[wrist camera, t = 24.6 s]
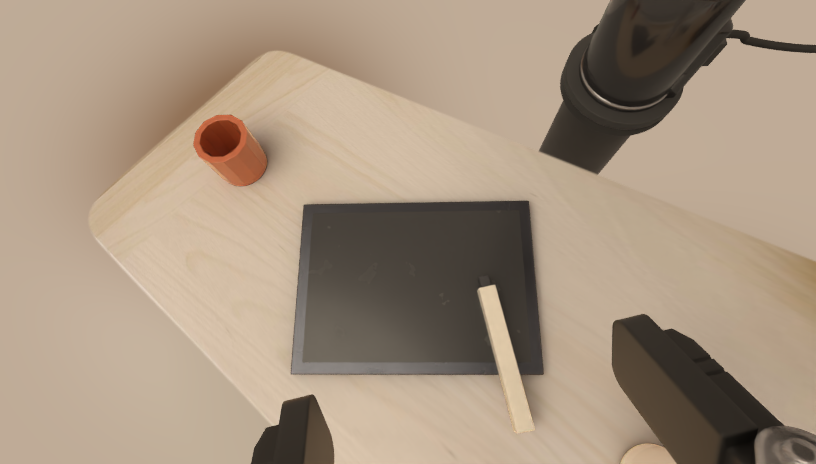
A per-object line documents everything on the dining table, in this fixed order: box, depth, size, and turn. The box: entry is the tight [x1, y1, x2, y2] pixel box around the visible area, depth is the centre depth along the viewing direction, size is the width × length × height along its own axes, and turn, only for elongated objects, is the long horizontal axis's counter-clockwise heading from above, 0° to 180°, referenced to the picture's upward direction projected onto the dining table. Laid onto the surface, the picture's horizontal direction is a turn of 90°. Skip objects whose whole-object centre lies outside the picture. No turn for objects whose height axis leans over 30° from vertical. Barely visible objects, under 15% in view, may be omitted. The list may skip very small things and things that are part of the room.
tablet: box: [291, 201, 544, 375], centre depth 42 cm, size 22×16×1 cm
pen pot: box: [194, 115, 267, 186], centre depth 44 cm, size 5×5×6 cm
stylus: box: [477, 275, 535, 434], centre depth 38 cm, size 2×2×13 cm
